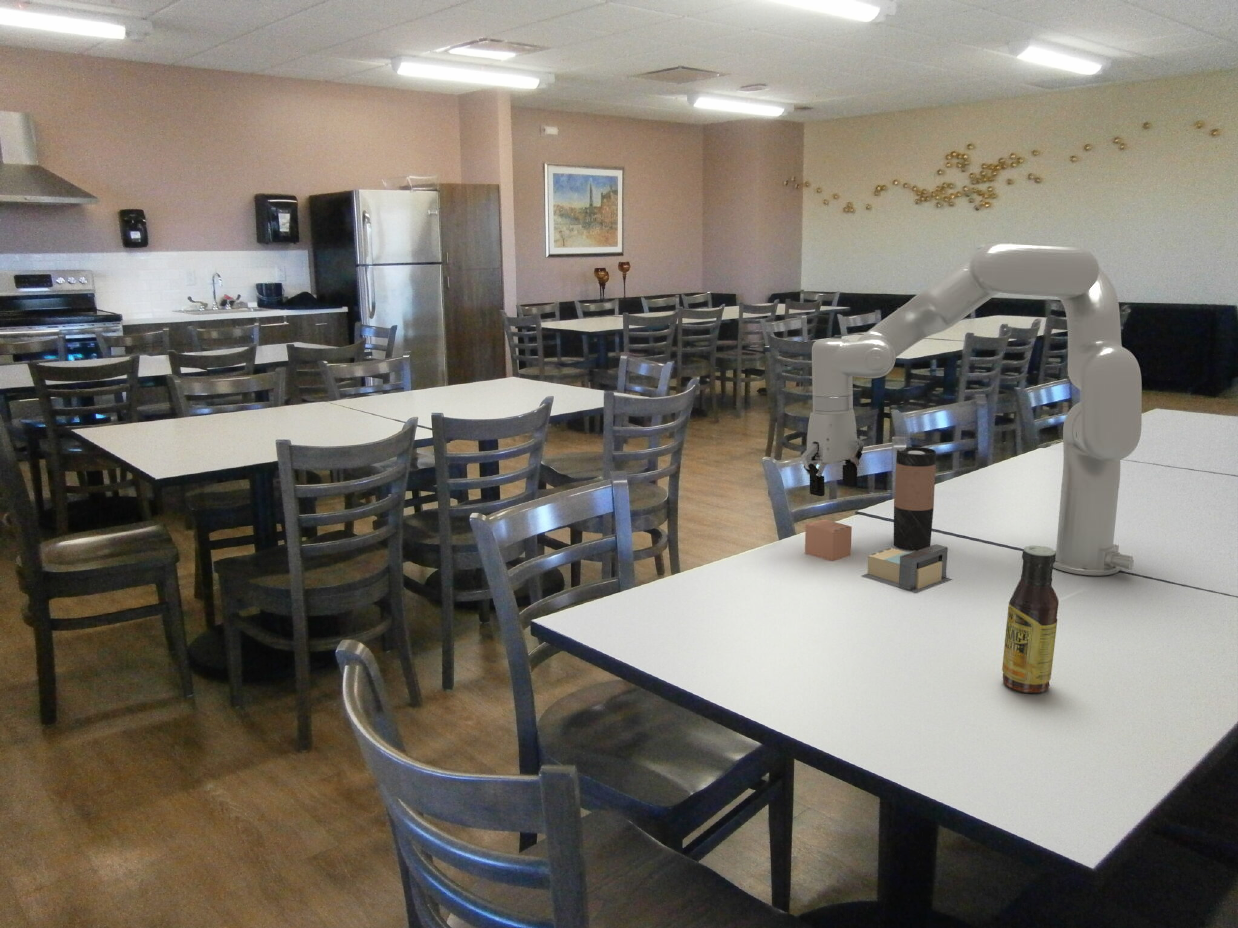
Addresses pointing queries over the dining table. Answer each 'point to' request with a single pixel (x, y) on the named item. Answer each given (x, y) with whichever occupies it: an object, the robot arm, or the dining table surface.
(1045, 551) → the sauce bottle
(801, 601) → the dining table surface
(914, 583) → the grey rectangular collar
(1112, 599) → the dining table surface
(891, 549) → the tan and teal block
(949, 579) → the mat
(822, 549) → the stub
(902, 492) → the travel mug
